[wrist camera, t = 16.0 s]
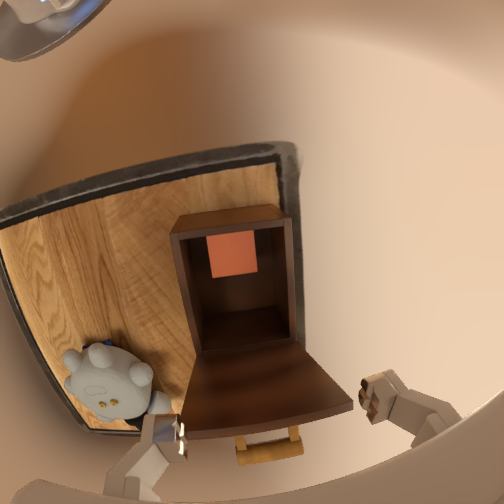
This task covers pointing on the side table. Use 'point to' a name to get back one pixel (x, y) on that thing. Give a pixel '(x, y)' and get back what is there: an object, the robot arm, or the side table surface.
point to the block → (232, 253)
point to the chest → (237, 281)
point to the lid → (260, 399)
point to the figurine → (113, 384)
